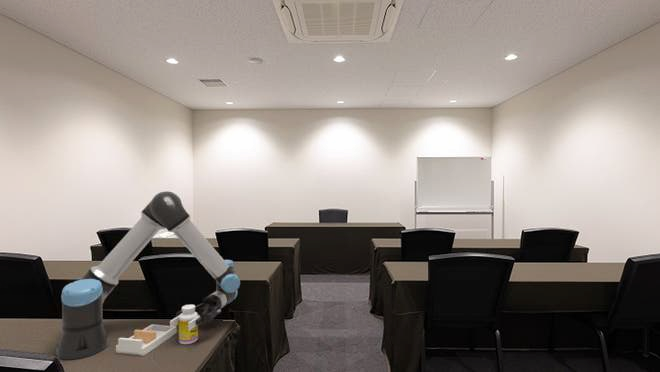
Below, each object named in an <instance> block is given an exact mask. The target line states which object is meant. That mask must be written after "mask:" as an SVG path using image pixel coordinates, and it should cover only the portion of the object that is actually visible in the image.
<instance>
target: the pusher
mask: <svg viewBox="0 0 660 372" xmlns="http://www.w3.org/2000/svg"><path fill="white" fill-rule="evenodd" d="M133 335H134V339H139V340H143V343H150V342H152V341H153V340H155V339H156V332H155V331H145V330H143V329H135V330H133Z"/></svg>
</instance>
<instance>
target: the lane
mask: <svg viewBox="0 0 660 372" xmlns="http://www.w3.org/2000/svg"><path fill="white" fill-rule="evenodd" d="M177 328H178V327H177V326H175V327H174V328H172V329H170V325H164V324H163V325H162V324H161V325H160V324H155V323H154V324H153V323H152V324H150V325H148V326H146V327H145V328H143V329H142V330H145V331H155V332H156V339H155V340H153V341H152V342H150V343H143V340H139V339H134V334H133V335H132V336H130V337H129V338H127V337H119V338H118V341H117V342H118V343H117V344H116V345H115V353H116V354H124V355H133V356H141V357H143V356H146V355H147V354H149V353H150V352H151V351H153V350H154V349H157V347H159V346H160V345H161V344H163V343H164V342H166V341H168V340H169V339H170V338H171V337H173V336H175V335H176V334H177V333H178V329H177Z"/></svg>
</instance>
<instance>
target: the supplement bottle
mask: <svg viewBox="0 0 660 372" xmlns="http://www.w3.org/2000/svg"><path fill="white" fill-rule="evenodd" d="M195 306H196V305H195V304H193V305H191V304H184V305H183V306H181V310H182V313H181V314H180V316H179V324H178V343H180V344H181V345H191V344H193V343H195V342H197V341H198V339H199V325H197V326H196V327H194V328H193V329H191V330H188V323H189V322H190V321H192V320H193V319H194V318H196V317H197V316H199V315H198V314H197V312H195Z"/></svg>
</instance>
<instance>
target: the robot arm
mask: <svg viewBox="0 0 660 372" xmlns="http://www.w3.org/2000/svg"><path fill="white" fill-rule="evenodd" d="M140 213H141V218H140V219H139V220H138V221H137V222H136V223H135V224H134V225H133V226H132V227H131V229H129V231H128V232H127V233H126V234H125V235H124V237H122V239H121V240H120V241H119V242H118V243H117V244H116V245H115V247H114V248H113V249H112V250H111V251H110V252H109V253H107V256H105V257H104V259H103V260H102V261H101V262H100V263H99V265H95V266H94V265H93V266H91V267H90V268H89V269H88V270H87V272H86V273H85V274H84V275H83V276H82V277H81V278H80V279H78V280H75V281H73V282H70V283H68V284H66V285H65V286H64V287H63V288H62V291H61V296H60V298H61V316H62V317H61V322H62V332H61V334H60V338H59V343H58V344H57V347H56V351H55V353H56V355H55V356H56V357H57V359H61V360H76V359H77V360H78V359H82V358H87V357H89V356H92V355H94V354H98V353H100V352H101V351H103V350H105V349H106V348H107V347H108V346H109V334H107V330H106V328H105V326H104V324H103V304H104V303H105V300H106V298H107V297H108V296H109V294H111V292H112V291H113V290H114V288H115V287H117V286H118V284H119V277H120V276H121V275H122V274H123V272H124V271H126V269H127V268H128V267H129V266H130V264H131V263H132V262H133V261H134V260H135V259H136V257H138V255H139V254H140V253H141V252H142V251H143V249H145V247H146V246H147V245H148V244H149V243H150V241H152V239H153V238H154V237H155V236H156V235H157V234H158V232H159V231H161V230H165V229H166V230H167V231H168V233H173V234H174V235H175V236H176V237H177V238H178V239H179V240H180V242H181V243H182V244H183V245H184V246H185V247H186V249H188V250H189V252H190V253H191V254H192V255H193V256H194V257H195V259H197V260H198V262H199V263H200V264H201V265H202V266H203V267H204V269H205V270H206V271H207V272H208V274H210V276H211V277H212V278H213V279H214V280H215V281H216V285H215V286H216V289H215V291H214V292H213V293H211V294H209V295H208V296H206V297H204V298H203V300H202V301H201V302H200V304H197V305H195V312H197V314H198V316H197V317H196V318H194V319H193V320H192V321H190V322H189V323H188V330H191V329H193V328H194V327H196V326H197V325H198V326H199V325H200V324H203V323H205V322H206V323H210V322H211V321H213V319H214V318H215V317H217V316H218V315H220V314H221V313H222V310H221V309H223V308H224V307H225V306H226V305H228V304H230V303H232V302H233V301H234V300H235V299H236V298H237V297H238V293H239V292H238V289H239V288H240V285H241V280H240V277H239V276H238V274H237V273H236V271H234V267H235V266H234V261H233V260H231V259H224V258H223V257H222V256H221V255H220V254H219V252H218V251H217V250H216V249H215V248H214V246H213V245H212V244H211V243H210V241H208V240H207V238H206V237H205V236H204V235H203V233H202V232H201V231H200V230H199V229H198V228H197V226H196V225H195V224H194V223H193V222H192V221H191V220H190V219H191V215H190V214H189V213H188V212H187V211H186V209H185V207H184V204H183V203H182V200H181V198H180V197H179V195H177V194H176V193H174V192H171V191H161V192H159V193H157V194H155V195H154V196H153V198H152V200H150V201H149V203H147V205H146V206H145V207H144V209H142V211H141V212H140ZM190 305H194V304H192V303H191V304H190ZM181 313H182V309H180V310H179V311H177V312H176V313H175V317H174V318H173V319H171V320H170V321H169V326H170V329H172V328H174V327H177V326H179V316H180V314H181Z"/></svg>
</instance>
